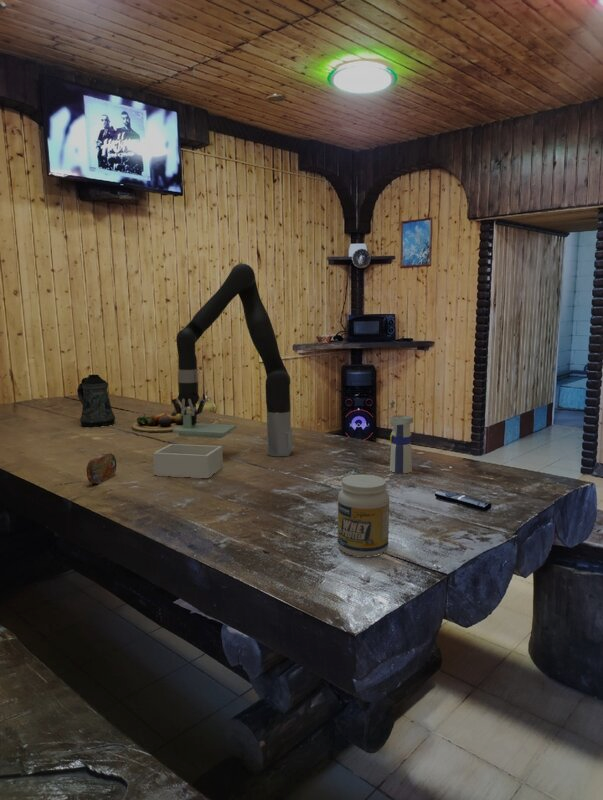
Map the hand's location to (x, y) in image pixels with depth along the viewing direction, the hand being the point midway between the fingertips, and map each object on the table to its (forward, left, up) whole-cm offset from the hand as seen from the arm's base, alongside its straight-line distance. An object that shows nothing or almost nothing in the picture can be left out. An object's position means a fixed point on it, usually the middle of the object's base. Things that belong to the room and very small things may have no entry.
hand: (189, 424), depth 223 cm
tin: (+16, +36, -13) cm, 42 cm away
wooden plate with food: (+36, -51, -13) cm, 64 cm away
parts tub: (-9, +21, -12) cm, 26 cm away
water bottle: (-82, +6, -13) cm, 83 cm away
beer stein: (+72, -48, -13) cm, 88 cm away
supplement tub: (-77, +74, -13) cm, 107 cm away
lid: (-7, 0, -4) cm, 7 cm away
